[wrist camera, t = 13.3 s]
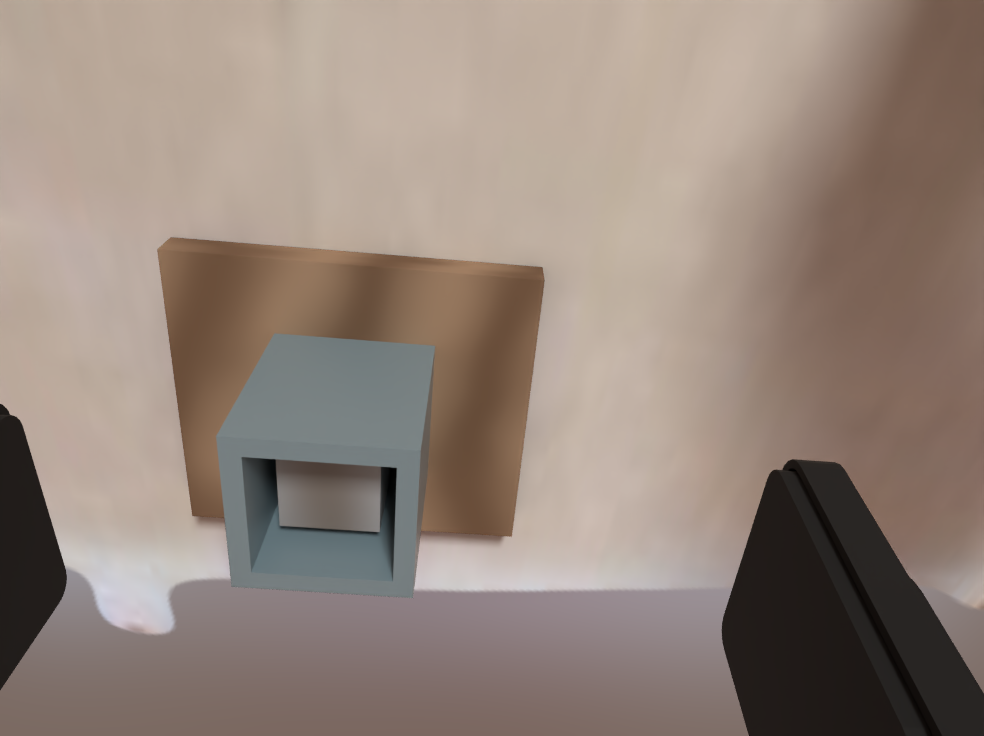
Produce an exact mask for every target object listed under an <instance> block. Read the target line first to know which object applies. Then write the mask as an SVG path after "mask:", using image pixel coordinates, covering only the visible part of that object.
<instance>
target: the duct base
mask: <svg viewBox="0 0 984 736" xmlns="http://www.w3.org/2000/svg"><path fill="white" fill-rule="evenodd" d="M157 251H158V258H159V266H160V273H161V281H162V289H163V296H164V304H165V311H166V319H167V327H168V334H169V342H170V349H171V357H172V365H173V372H174V380H175V387H176V395H177V403H178V410H179V418H180V425H181V433H182V441H183V448H184V456H185V463H186V471H187V479H188V486H189V494H190V501H191V509H192V516H202V517H218V518H224V508H223V498H222V489H221V479H220V469H219V460H218V450H217V440H216V435H217V434H218V432H219V430H220V428H221V427H222V425H223V423H224V421H225V419H226V418H227V416H228V414H229V412H230V411H231V409H232V407H233V405H234V404H235V402H236V400H237V398H238V397H239V395H240V393H241V391H242V390H243V388H244V386H245V384H246V382H247V381H248V379H249V377H250V375H251V374H252V372H253V370H254V368H255V367H256V365H257V363H258V361H259V360H260V358H261V356H262V354H263V353H264V351H265V349H266V347H267V345H268V344H269V342H270V340H271V338H272V337H273V335H274V333H276V334H289V335H302V336H315V337H328V338H341V339H354V340H367V341H380V342H392V343H405V344H418V345H431V346H435V358H434V375H433V392H432V409H431V426H430V443H429V460H428V476H427V484H426V493H425V501H424V510H423V518H422V526H421V531H434V532H449V533H465V534H480V535H496V536H511V537H512V530H513V522H514V514H515V507H516V499H517V491H518V483H519V475H520V468H521V460H522V452H523V444H524V436H525V429H526V421H527V413H528V405H529V398H530V390H531V382H532V374H533V366H534V359H535V351H536V343H537V335H538V327H539V320H540V312H541V304H542V296H543V288H544V281H545V280H544V274H543V268H542V267H532V266H519V265H507V264H494V263H482V262H470V261H457V260H445V259H432V258H420V257H408V256H395V255H383V254H370V253H358V252H346V251H333V250H321V249H308V248H296V247H284V246H271V245H259V244H246V243H234V242H221V241H209V240H197V239H184V238H172V237H171V238H170V239H168V240H167V241H166V242H165V243H164V244H163V245H162V246H161V247H159V248H158V249H157ZM391 470H392V467H379V466H364V465H350V464H336V463H321V462H307V461H293V460H278V459H276V474H277V490H278V506H279V522H280V526H292V527H308V528H323V529H339V530H354V531H370V532H380V528H381V523H382V517H383V512H384V507H385V502H386V496H387V491H388V486H389V481H390V475H391Z"/></svg>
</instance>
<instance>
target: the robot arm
mask: <svg viewBox="0 0 984 736" xmlns="http://www.w3.org/2000/svg"><path fill="white" fill-rule="evenodd" d="M66 580H67V575H66V569H65V566H64V562H63V559H62V556H61V552H60V549H59V546H58V542H57V539H56V536H55V532H54V529H53V526H52V522H51V519H50V516H49V512H48V509H47V506H46V502H45V499H44V496H43V492H42V489H41V486H40V482H39V479H38V476H37V472H36V469H35V466H34V462H33V459H32V456H31V452H30V449H29V446H28V442H27V439H26V436H25V432H24V429H23V426H22V424H21V422H20V420H19V419H18V418H17V417H15V416H12V415H10V414H9V411H8V410H7V409H6V408H5V407H4V406H3V405H2V404H0V690H1V688H2V687H3V685H4V684H5V682H6V681H7V680H8V678H9V676H10V675H11V673H12V672H13V670H14V669H15V668H16V666H17V665H18V663H19V662H20V660H21V659H22V657H23V656H24V654H25V653H26V651H27V650H28V648H29V647H30V645H31V644H32V642H33V641H34V639H35V638H36V637H37V635H38V634H39V632H40V631H41V629H42V628H43V626H44V625H45V623H46V622H47V620H48V619H49V617H50V616H51V614H52V613H53V611H54V610H55V608H56V607H57V605H58V604H59V602H60V600H61V599H62V597H63V594H64V591H65V587H66ZM722 640H723V646H724V650H725V654H726V657H727V660H728V664H729V667H730V671H731V675H732V678H733V682H734V685H735V689H736V692H737V696H738V699H739V702H740V706H741V709H742V713H743V717H744V720H745V723H746V727H747V731H748V734H749V736H984V693H983V692H982V690H981V689H980V687H979V685H978V683H977V682H976V680H975V678H974V677H973V675H972V673H971V672H970V670H969V669H968V667H967V666H966V664H965V662H964V660H963V659H962V657H961V655H960V654H959V652H958V650H957V649H956V647H955V646H954V644H953V643H952V641H951V639H950V637H949V636H948V634H947V632H946V631H945V629H944V627H943V626H942V624H941V622H940V621H939V619H938V617H937V616H936V614H935V613H934V611H933V609H932V608H931V606H930V604H929V603H928V601H927V599H926V598H925V596H924V594H923V593H922V591H921V590H920V589H919V587H918V586H917V585H916V584H915V582H914V581H913V580H912V579H910V578H909V576H908V574H907V573H906V571H905V569H904V568H903V566H902V564H901V563H900V561H899V559H898V558H897V556H896V554H895V553H894V551H893V549H892V548H891V546H890V544H889V543H888V541H887V539H886V538H885V536H884V534H883V533H882V531H881V529H880V528H879V526H878V524H877V523H876V521H875V519H874V518H873V516H872V514H871V513H870V511H869V509H868V508H867V506H866V505H865V503H864V501H863V500H862V498H861V496H860V495H859V493H858V491H857V490H856V488H855V486H854V485H853V483H852V481H851V480H850V478H849V476H848V475H847V473H846V471H845V470H844V468H843V467H842V466H841V465H840V464H838V463H835V462H821V461H807V460H790V461H788V462H787V463H786V464H785V465H784V468H783V470H773V471H772V472H771V473H770V474H769V477H768V479H767V482H766V485H765V488H764V491H763V495H762V498H761V501H760V504H759V507H758V510H757V513H756V516H755V520H754V523H753V526H752V529H751V532H750V535H749V538H748V541H747V545H746V548H745V551H744V554H743V557H742V560H741V563H740V567H739V570H738V573H737V576H736V579H735V582H734V585H733V588H732V592H731V595H730V598H729V601H728V604H727V608H726V610H725V614H724V617H723V622H722Z"/></svg>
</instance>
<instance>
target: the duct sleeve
mask: <svg viewBox="0 0 984 736" xmlns="http://www.w3.org/2000/svg"><path fill="white" fill-rule="evenodd" d="M434 358H435V346H431V345H418V344H405V343H392V342H380V341H367V340H354V339H341V338H328V337H315V336H302V335H289V334H276V333H274V335H273V337H272V338H271V340H270V342H269V344H268V345H267V347H266V349H265V351H264V353H263V354H262V356H261V358H260V360H259V361H258V363H257V365H256V367H255V368H254V370H253V372H252V374H251V375H250V377H249V379H248V381H247V382H246V384H245V386H244V388H243V390H242V391H241V393H240V395H239V397H238V398H237V400H236V402H235V404H234V405H233V407H232V409H231V411H230V412H229V414H228V416H227V418H226V419H225V421H224V423H223V425H222V427H221V428H220V430H219V432H218V434H217V435H216V440H217V450H218V460H219V469H220V479H221V489H222V498H223V508H224V518H225V527H226V537H227V547H228V556H229V566H230V576H231V585H232V587H245V588H261V589H276V590H292V591H308V592H325V593H340V594H356V595H373V596H388V597H405V598H413V594H414V585H415V577H416V568H417V560H418V552H419V543H420V535H421V526H422V518H423V510H424V501H425V493H426V484H427V476H428V460H429V443H430V426H431V409H432V392H433V375H434ZM276 459H278V460H293V461H307V462H321V463H336V464H350V465H364V466H379V467H392V470H391V475H390V481H389V486H388V491H387V496H386V502H385V507H384V512H383V517H382V523H381V528H380V532H370V531H354V530H339V529H323V528H308V527H292V526H280V522H279V506H278V490H277V474H276Z"/></svg>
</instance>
